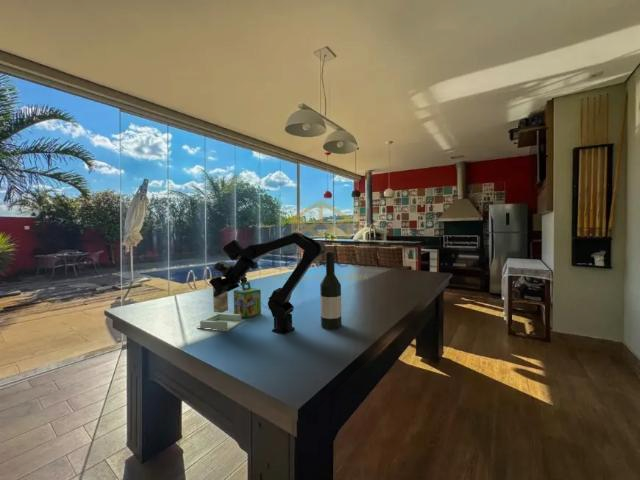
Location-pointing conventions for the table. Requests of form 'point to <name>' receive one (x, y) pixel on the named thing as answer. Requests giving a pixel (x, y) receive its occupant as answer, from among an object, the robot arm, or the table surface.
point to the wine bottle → (330, 296)
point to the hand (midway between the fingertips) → (217, 295)
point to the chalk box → (247, 301)
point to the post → (220, 302)
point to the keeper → (221, 321)
